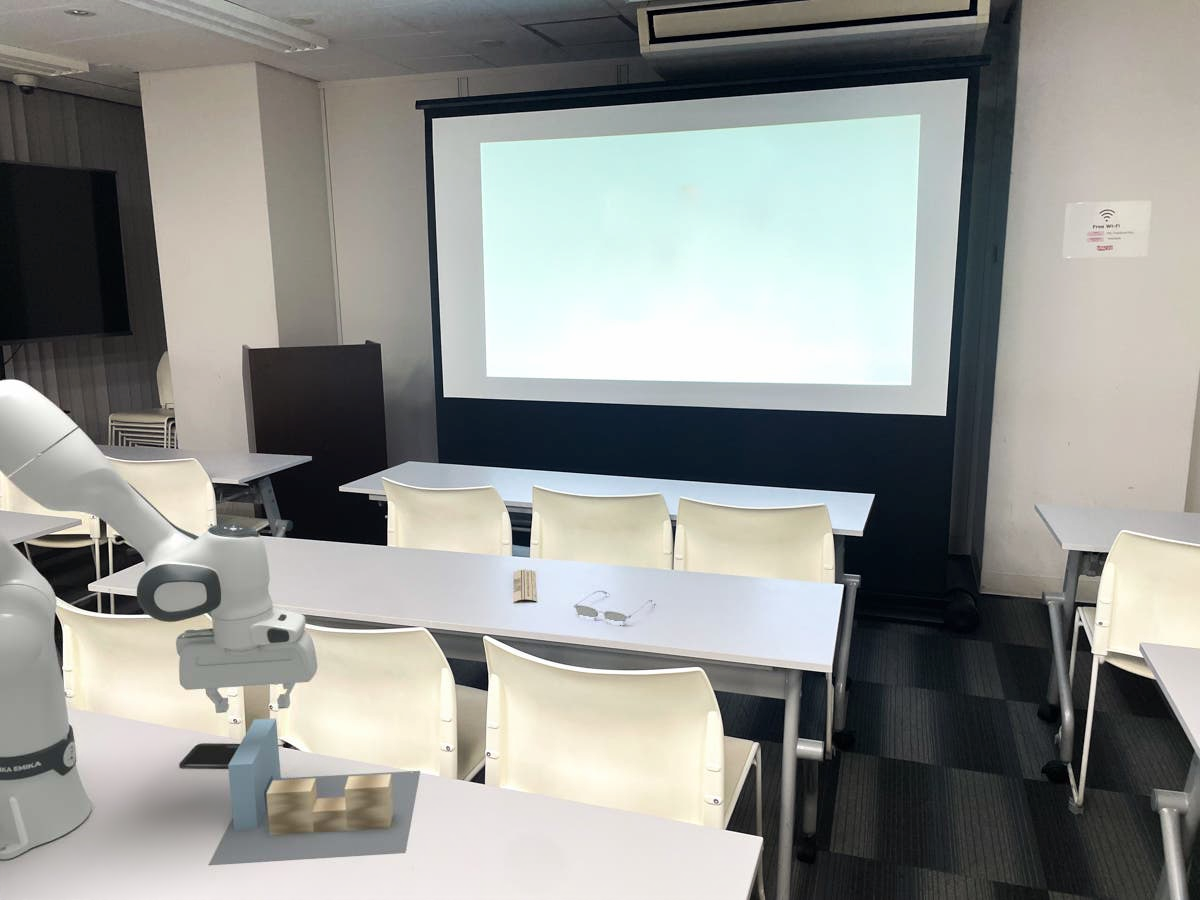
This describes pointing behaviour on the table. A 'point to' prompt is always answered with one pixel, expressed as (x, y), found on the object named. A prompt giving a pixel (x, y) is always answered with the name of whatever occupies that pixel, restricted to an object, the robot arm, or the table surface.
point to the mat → (324, 844)
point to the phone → (209, 756)
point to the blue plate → (253, 773)
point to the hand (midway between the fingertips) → (253, 708)
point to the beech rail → (330, 806)
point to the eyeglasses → (608, 614)
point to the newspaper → (524, 585)
